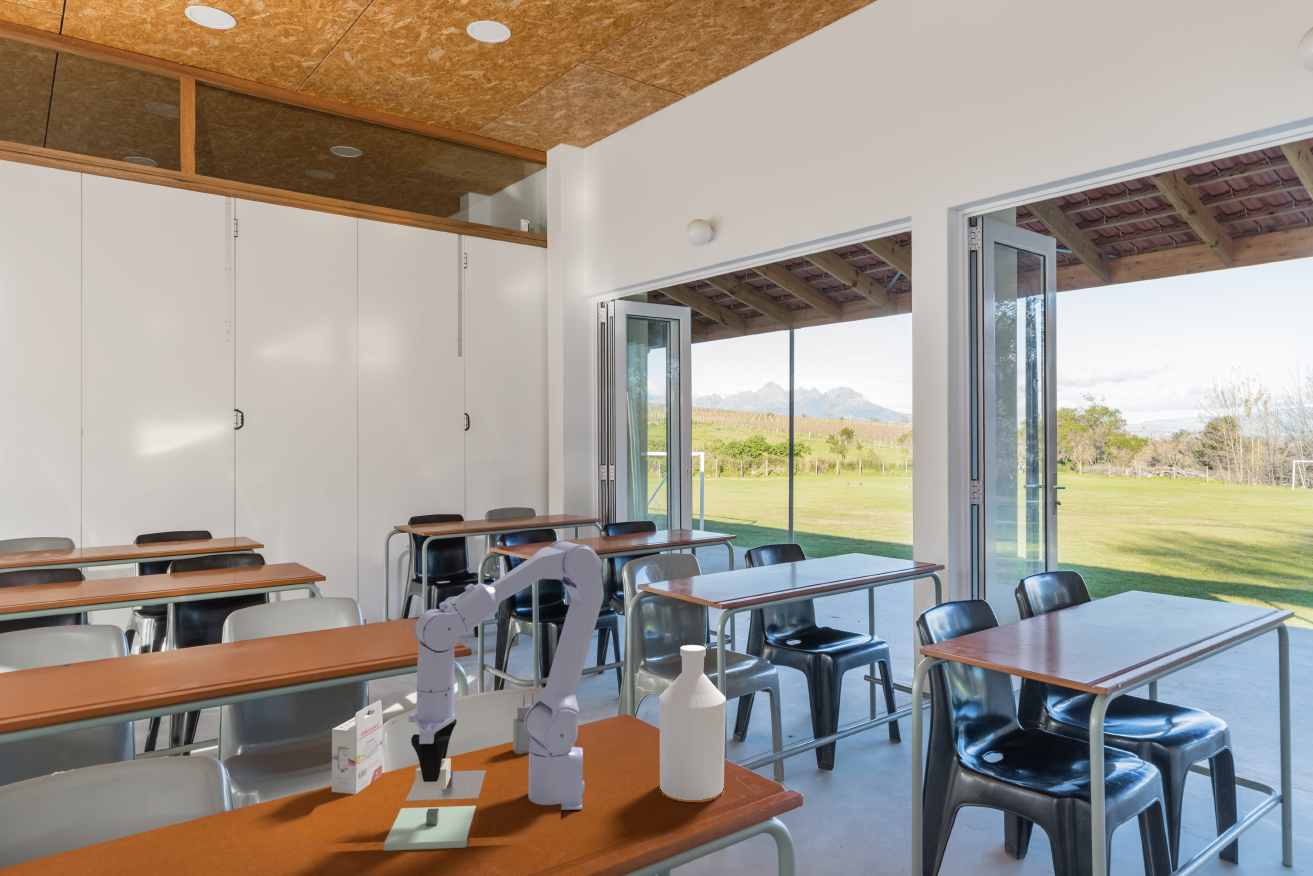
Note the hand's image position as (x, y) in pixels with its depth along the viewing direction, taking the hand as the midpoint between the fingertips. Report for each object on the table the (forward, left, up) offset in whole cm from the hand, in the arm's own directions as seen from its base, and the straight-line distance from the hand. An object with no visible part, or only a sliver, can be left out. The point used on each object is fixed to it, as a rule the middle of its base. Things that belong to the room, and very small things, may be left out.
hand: (433, 774), depth 123 cm
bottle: (-43, -11, -9) cm, 45 cm away
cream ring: (0, 0, -1) cm, 1 cm away
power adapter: (-13, -30, -9) cm, 34 cm away
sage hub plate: (0, +1, -8) cm, 8 cm away
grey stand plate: (0, -14, -8) cm, 17 cm away
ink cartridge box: (+16, -16, -9) cm, 24 cm away
